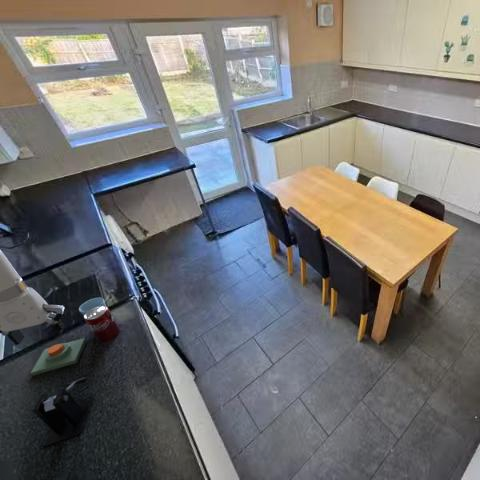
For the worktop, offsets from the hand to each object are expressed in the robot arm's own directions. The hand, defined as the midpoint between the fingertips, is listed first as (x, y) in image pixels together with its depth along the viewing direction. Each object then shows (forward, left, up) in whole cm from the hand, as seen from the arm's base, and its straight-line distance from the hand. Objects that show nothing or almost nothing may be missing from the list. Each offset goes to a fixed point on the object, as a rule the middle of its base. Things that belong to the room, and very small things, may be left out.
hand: (41, 335), depth 79 cm
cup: (+4, +21, -18) cm, 28 cm away
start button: (-5, +8, -14) cm, 17 cm away
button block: (-5, +8, -18) cm, 20 cm away
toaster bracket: (+6, -19, -18) cm, 26 cm away
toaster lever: (+6, -15, -11) cm, 20 cm away
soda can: (+8, +13, -18) cm, 24 cm away
